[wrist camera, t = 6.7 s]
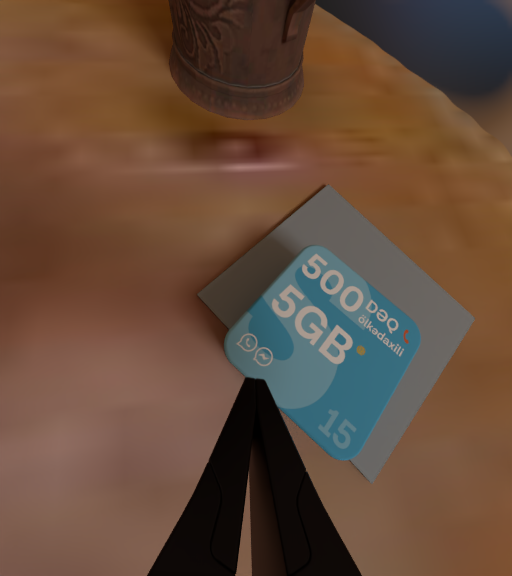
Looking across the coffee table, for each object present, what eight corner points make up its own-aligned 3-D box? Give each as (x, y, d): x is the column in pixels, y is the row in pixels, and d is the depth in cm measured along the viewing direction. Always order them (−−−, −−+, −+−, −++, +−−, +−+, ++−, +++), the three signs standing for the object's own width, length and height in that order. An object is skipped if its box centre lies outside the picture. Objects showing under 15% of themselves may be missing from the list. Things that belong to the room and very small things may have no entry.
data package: (213, 346, 14) (314, 235, 18) (216, 346, 19) (297, 257, 22) (350, 474, 13) (429, 332, 17) (320, 443, 18) (388, 334, 21)
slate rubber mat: (471, 318, 23) (475, 318, 23) (369, 480, 18) (372, 483, 17) (326, 186, 25) (328, 184, 25) (197, 295, 20) (196, 294, 20)
